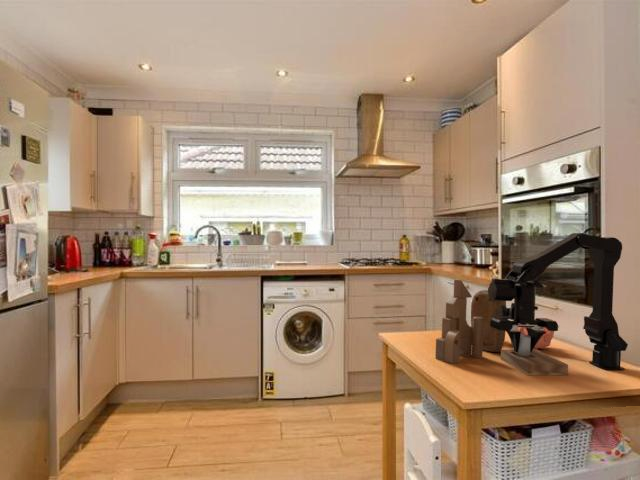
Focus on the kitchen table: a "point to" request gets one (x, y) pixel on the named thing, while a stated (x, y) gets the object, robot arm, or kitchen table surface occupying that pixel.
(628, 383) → the kitchen table surface
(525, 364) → the board
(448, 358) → the wooden toy
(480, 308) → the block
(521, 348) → the peg
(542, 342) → the teapot
